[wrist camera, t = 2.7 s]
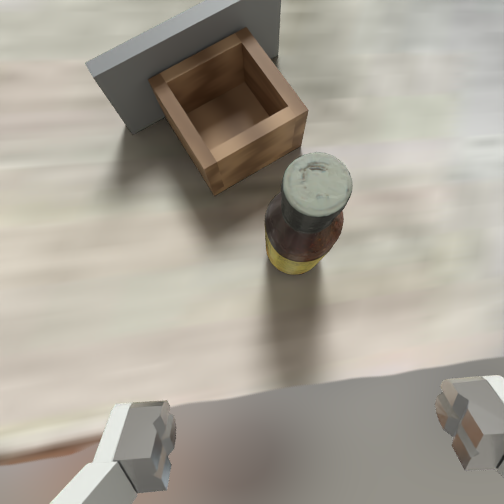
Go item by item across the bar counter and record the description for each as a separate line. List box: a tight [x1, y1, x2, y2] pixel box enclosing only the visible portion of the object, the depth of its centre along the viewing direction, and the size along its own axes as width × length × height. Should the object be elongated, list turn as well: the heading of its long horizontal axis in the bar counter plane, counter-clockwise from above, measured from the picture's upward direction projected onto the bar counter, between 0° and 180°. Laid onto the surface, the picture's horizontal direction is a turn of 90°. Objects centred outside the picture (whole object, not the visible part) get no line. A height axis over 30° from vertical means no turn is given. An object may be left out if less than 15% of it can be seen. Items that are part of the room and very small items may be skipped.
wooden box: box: [148, 27, 308, 196], centre depth 38 cm, size 12×12×7 cm
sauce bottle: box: [265, 152, 352, 274], centre depth 28 cm, size 6×6×20 cm
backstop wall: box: [85, 0, 281, 135], centre depth 38 cm, size 22×2×10 cm, turn 121°
